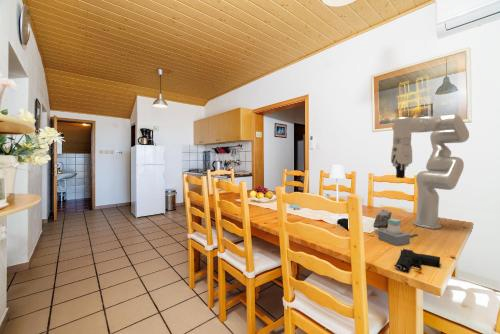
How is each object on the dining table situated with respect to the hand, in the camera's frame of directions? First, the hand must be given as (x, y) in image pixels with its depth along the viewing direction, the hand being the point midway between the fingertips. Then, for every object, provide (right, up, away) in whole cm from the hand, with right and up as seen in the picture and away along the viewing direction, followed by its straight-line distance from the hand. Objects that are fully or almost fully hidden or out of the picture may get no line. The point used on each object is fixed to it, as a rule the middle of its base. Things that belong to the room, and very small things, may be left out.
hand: (400, 177), depth 112 cm
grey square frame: (-8, -29, 0) cm, 30 cm away
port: (-9, -30, -8) cm, 32 cm away
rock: (-1, -29, +14) cm, 32 cm away
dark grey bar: (+2, -29, -4) cm, 30 cm away
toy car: (-21, -29, +11) cm, 38 cm away
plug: (-9, -30, -8) cm, 32 cm away
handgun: (-15, -32, -32) cm, 47 cm away
